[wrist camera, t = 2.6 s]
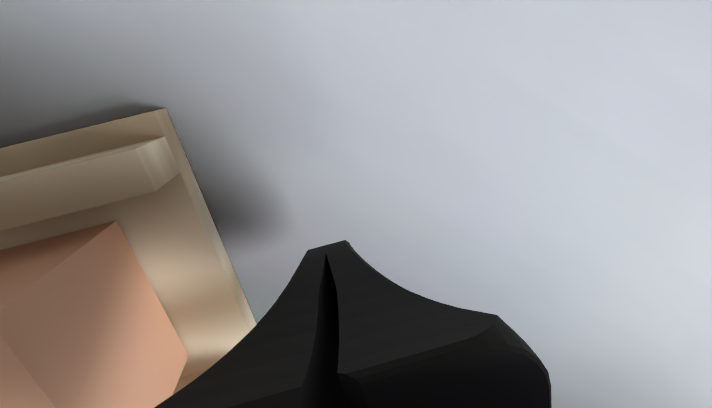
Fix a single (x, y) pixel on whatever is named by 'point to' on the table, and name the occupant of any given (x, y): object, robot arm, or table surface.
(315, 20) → the table surface
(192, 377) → the chute
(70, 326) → the block
